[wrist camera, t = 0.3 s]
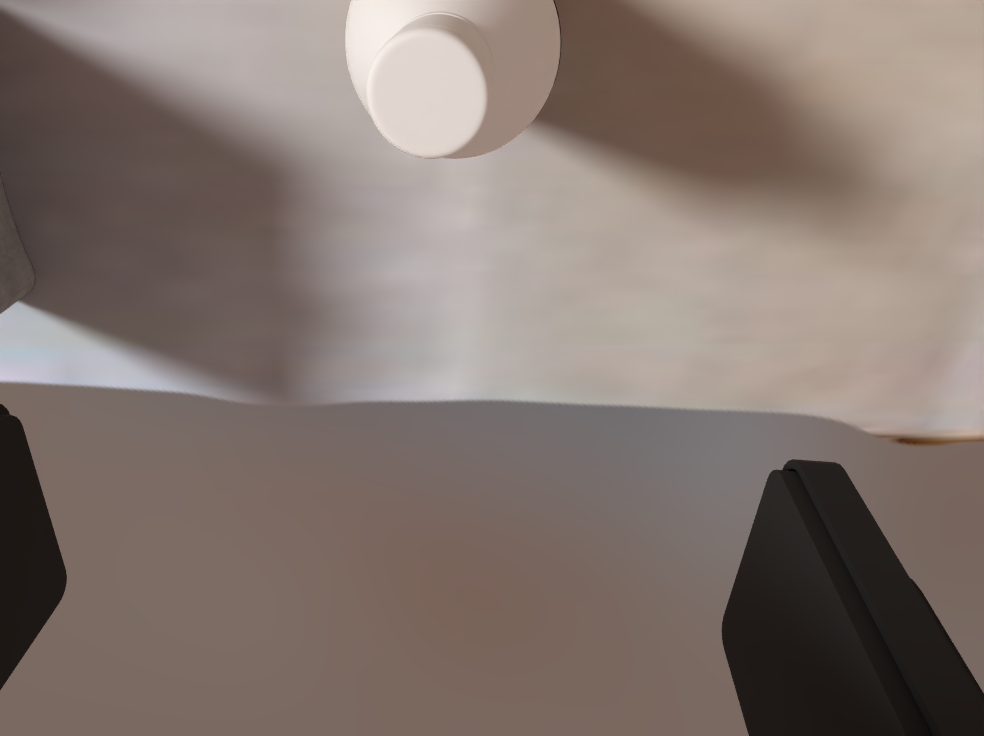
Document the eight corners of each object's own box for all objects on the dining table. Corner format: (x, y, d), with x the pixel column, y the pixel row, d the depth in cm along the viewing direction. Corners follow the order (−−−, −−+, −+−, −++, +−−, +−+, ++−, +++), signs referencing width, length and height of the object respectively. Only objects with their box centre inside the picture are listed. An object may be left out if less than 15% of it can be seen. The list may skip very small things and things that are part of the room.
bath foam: (563, 68, 36) (607, 201, 18) (423, 108, 37) (342, 269, 20) (527, -98, 32) (539, -125, 15) (375, -49, 34) (224, -21, 16)
